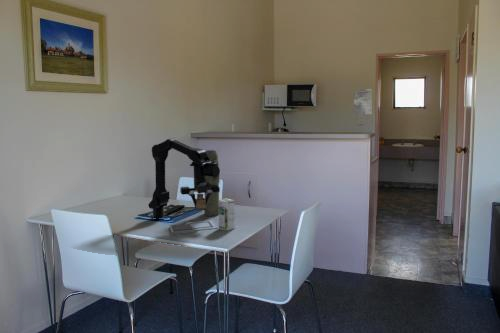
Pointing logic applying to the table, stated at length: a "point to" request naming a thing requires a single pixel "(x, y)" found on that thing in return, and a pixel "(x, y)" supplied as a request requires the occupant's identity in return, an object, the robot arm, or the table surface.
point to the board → (203, 225)
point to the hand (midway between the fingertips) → (200, 206)
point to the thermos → (213, 199)
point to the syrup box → (226, 214)
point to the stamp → (200, 202)
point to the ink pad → (181, 228)
